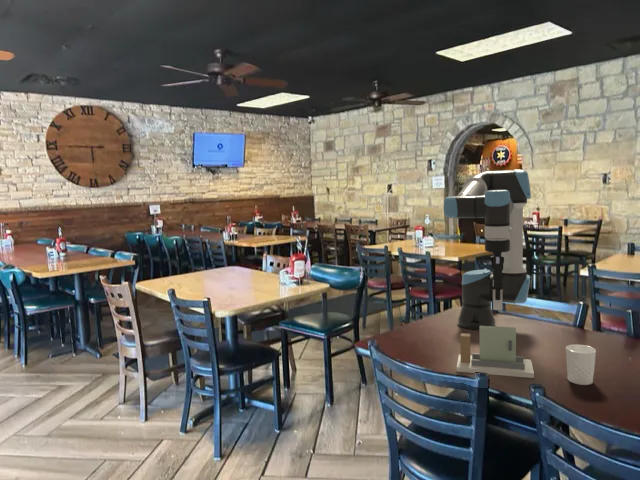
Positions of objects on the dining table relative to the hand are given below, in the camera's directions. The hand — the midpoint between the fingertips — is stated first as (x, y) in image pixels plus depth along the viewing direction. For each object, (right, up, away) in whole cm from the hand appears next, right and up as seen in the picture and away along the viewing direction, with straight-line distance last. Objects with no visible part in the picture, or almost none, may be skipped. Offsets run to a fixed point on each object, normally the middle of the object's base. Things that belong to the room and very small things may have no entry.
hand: (497, 304), depth 157 cm
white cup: (+21, -22, -10) cm, 32 cm away
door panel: (+1, -20, +2) cm, 20 cm away
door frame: (+1, -21, +2) cm, 21 cm away
